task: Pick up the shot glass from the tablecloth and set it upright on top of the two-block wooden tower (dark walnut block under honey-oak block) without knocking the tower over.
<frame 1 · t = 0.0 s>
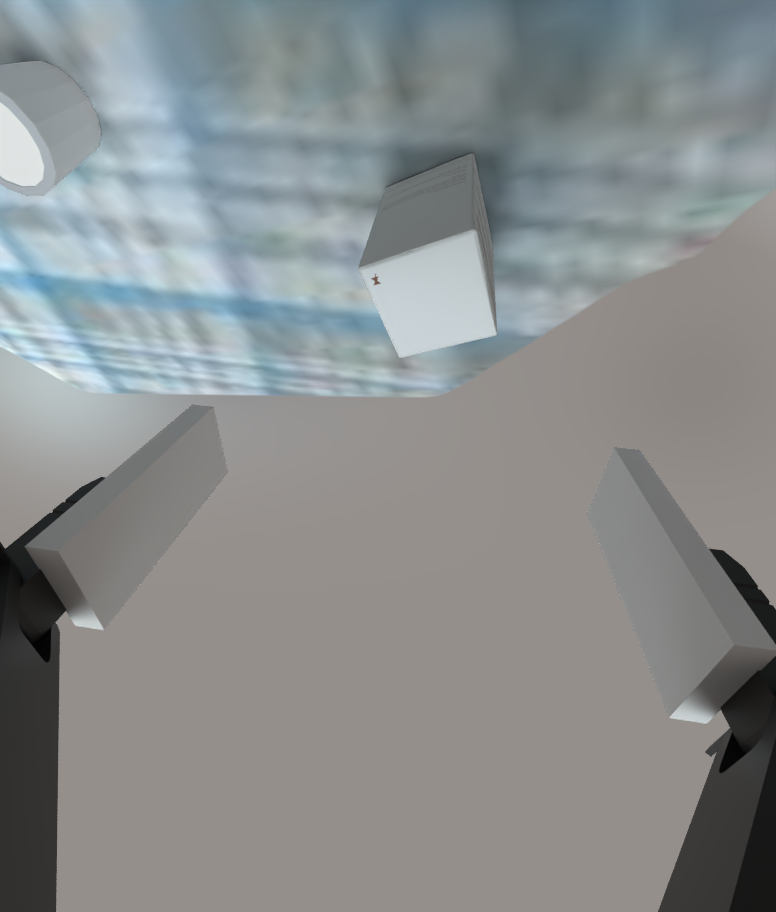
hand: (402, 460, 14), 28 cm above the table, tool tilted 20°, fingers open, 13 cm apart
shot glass: (63, 109, 31), on the table
supplement box: (441, 216, 34), on the table
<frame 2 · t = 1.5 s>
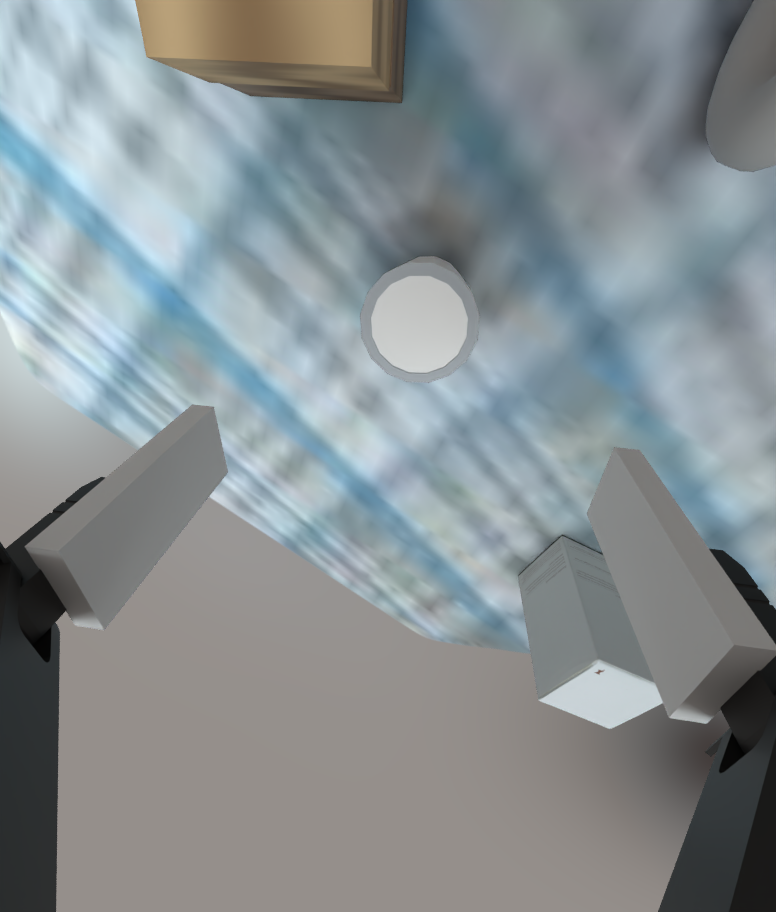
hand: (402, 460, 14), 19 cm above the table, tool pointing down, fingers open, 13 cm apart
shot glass: (426, 298, 29), on the table
donut: (749, 55, 21), on the table
supplement box: (567, 568, 42), on the table
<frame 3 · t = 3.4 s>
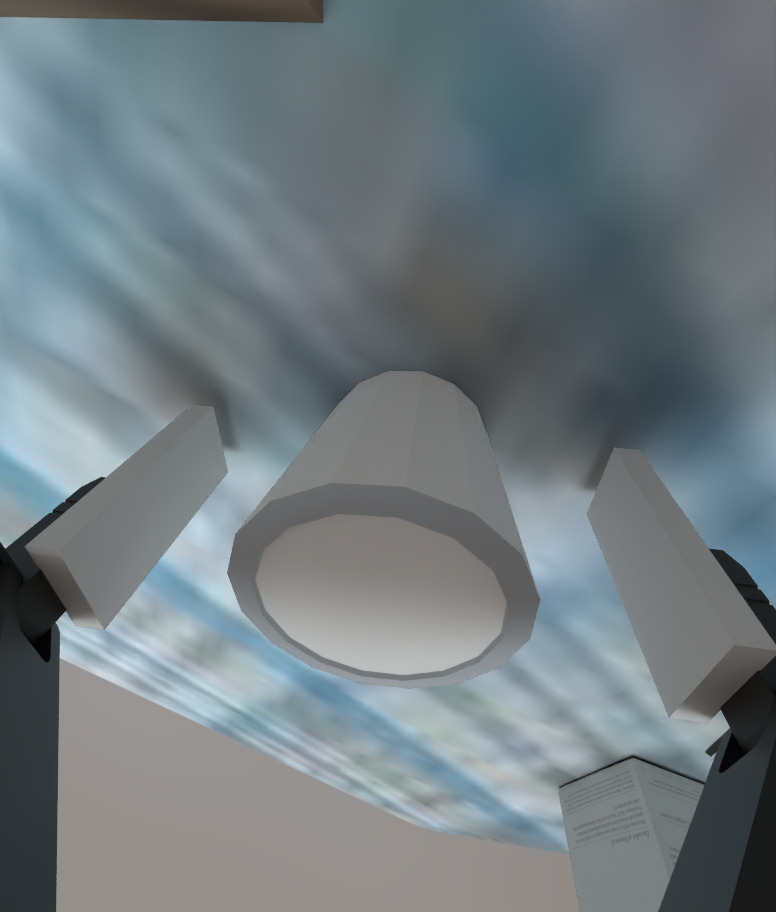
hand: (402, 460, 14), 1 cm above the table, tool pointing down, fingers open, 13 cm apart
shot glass: (407, 440, 15), on the table
supplement box: (635, 785, 27), on the table
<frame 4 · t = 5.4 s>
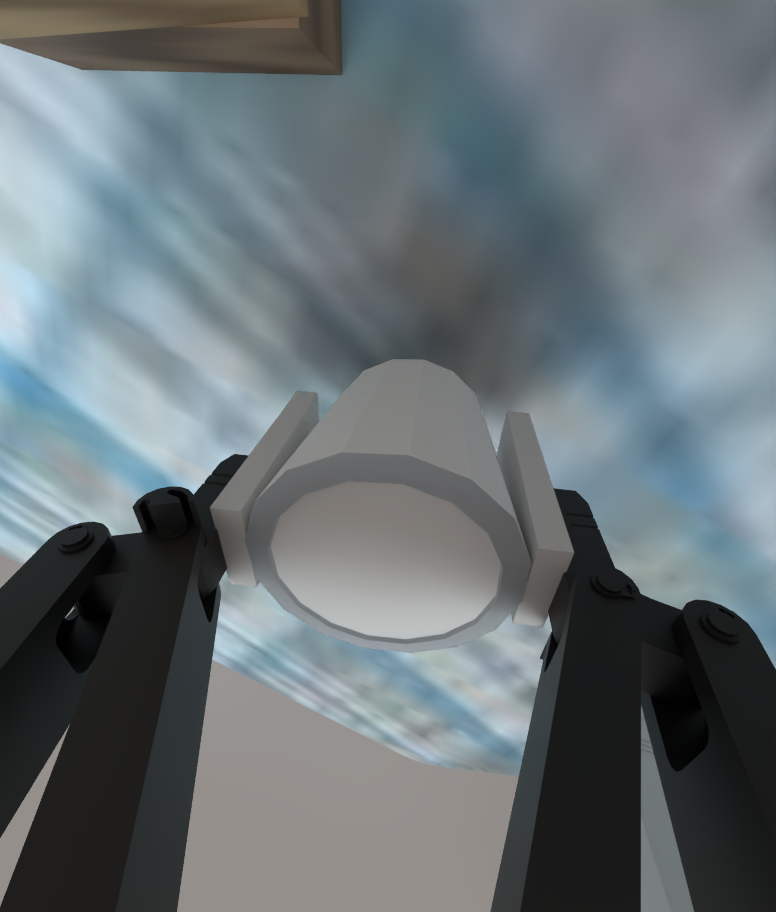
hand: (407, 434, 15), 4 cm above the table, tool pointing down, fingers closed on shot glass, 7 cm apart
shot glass: (409, 426, 16), point 4 cm above the table, touching gripper
supplement box: (600, 700, 32), on the table
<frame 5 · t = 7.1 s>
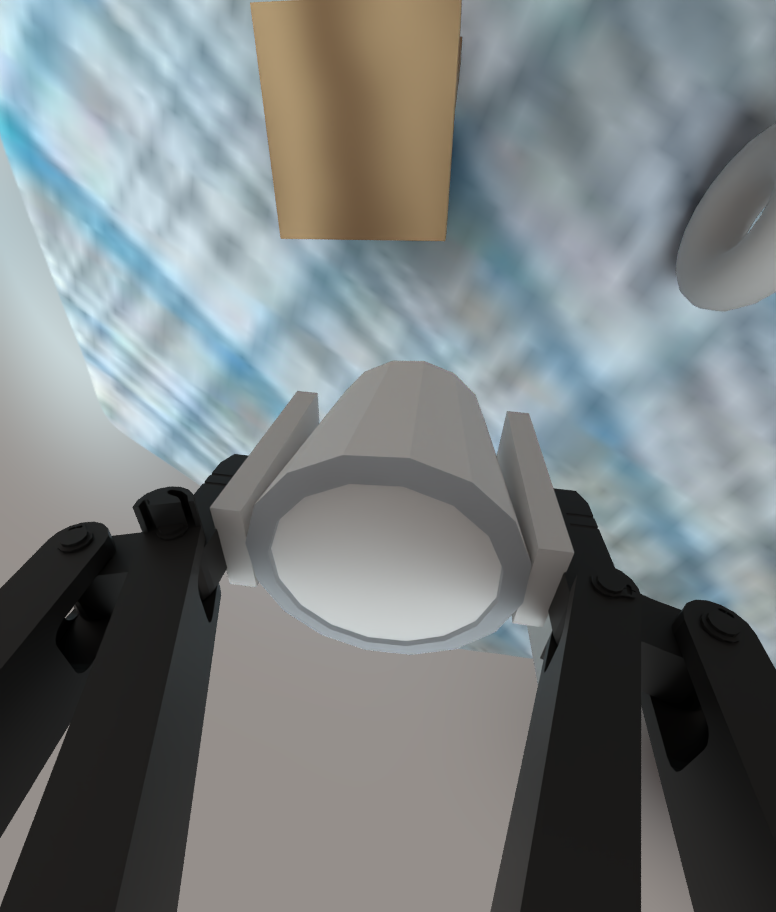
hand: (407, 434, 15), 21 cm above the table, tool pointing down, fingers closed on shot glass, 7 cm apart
oak block: (374, 142, 24), point 5 cm above the table, touching walnut block
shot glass: (409, 428, 16), point 20 cm above the table, touching gripper
donut: (709, 214, 27), on the table
supplement box: (564, 586, 49), on the table
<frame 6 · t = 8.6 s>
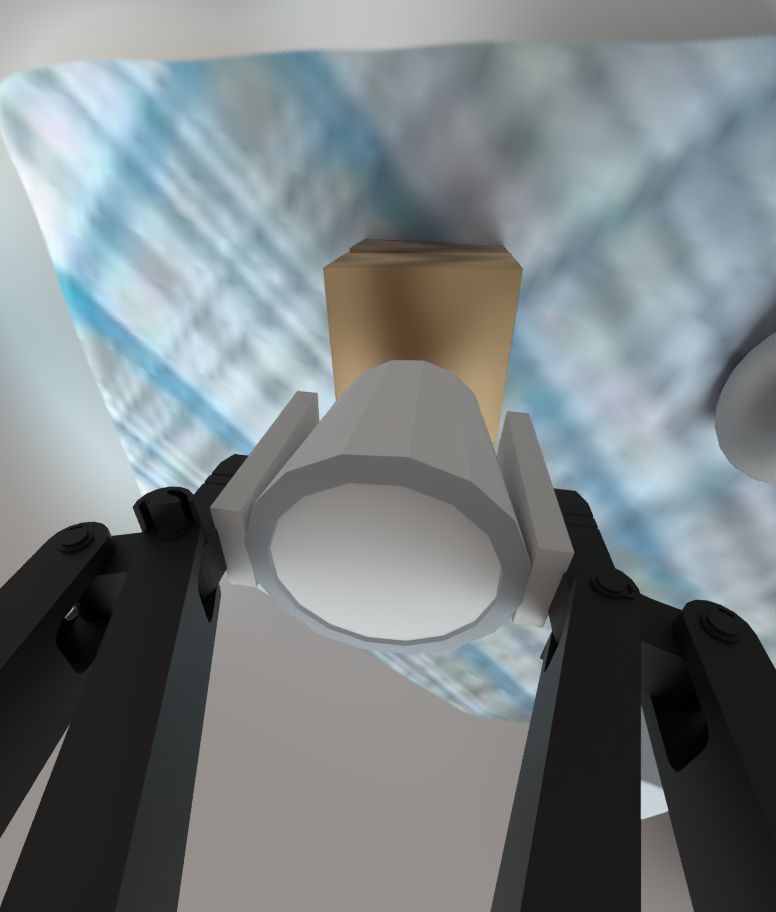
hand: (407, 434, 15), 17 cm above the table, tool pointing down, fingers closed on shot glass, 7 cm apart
oak block: (423, 334, 25), point 5 cm above the table, touching walnut block
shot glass: (409, 427, 16), point 16 cm above the table, touching gripper
donut: (746, 369, 28), on the table
supplement box: (597, 669, 49), on the table
walnut block: (427, 312, 29), on the table, touching oak block
when the fingers open (11 cm above the table, at t = 10.2 s): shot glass stays where it is, resting on oak block.
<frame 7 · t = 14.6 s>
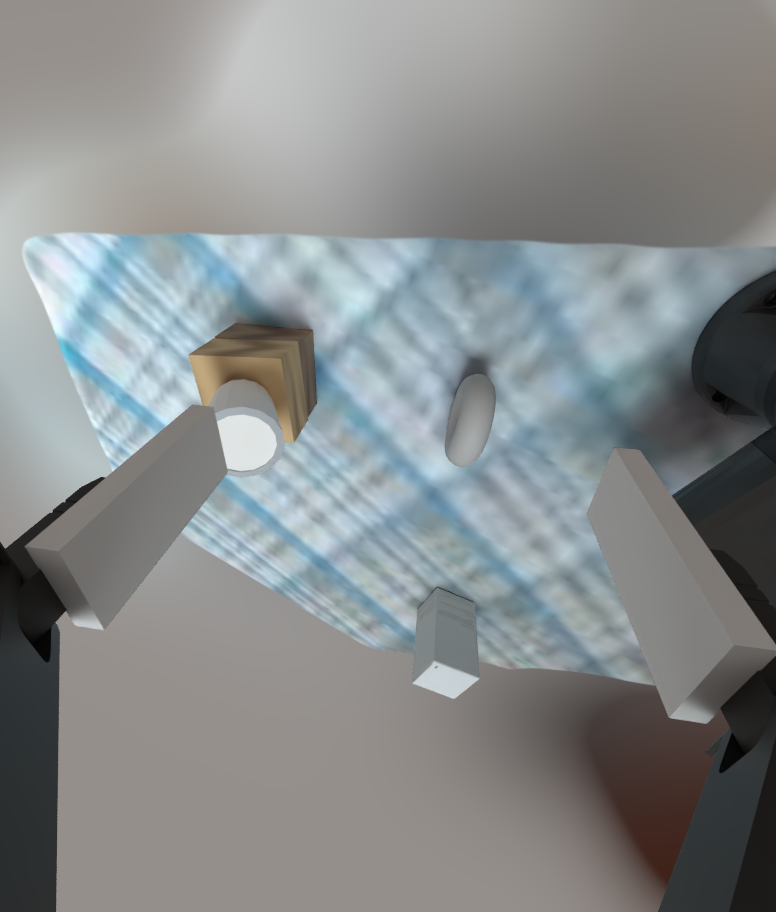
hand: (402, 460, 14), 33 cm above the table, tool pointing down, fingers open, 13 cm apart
oak block: (263, 380, 44), point 5 cm above the table, touching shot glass, walnut block
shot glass: (243, 405, 40), point 11 cm above the table, touching oak block
donut: (467, 399, 48), on the table
supplement box: (445, 605, 69), on the table
walnut block: (278, 364, 49), on the table, touching oak block
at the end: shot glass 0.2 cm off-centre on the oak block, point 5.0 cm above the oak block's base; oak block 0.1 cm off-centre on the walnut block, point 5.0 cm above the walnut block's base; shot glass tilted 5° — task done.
